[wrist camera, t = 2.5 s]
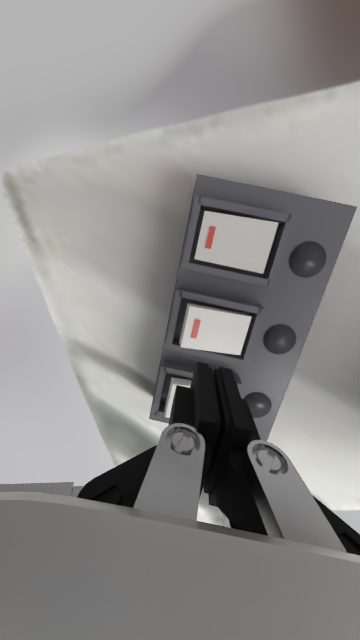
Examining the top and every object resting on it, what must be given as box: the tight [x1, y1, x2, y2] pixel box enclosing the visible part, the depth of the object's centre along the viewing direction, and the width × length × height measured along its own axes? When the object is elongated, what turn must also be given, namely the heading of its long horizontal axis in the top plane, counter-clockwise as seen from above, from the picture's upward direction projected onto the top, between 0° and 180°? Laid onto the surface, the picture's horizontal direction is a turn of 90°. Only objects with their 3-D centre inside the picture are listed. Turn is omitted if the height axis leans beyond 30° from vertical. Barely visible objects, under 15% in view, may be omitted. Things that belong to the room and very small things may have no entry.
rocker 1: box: [165, 378, 192, 418], centre depth 24 cm, size 6×4×1 cm, turn 79°
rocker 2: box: [194, 211, 278, 274], centre depth 19 cm, size 6×4×1 cm, turn 79°
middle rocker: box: [179, 303, 252, 355], centre depth 21 cm, size 6×4×1 cm, turn 79°
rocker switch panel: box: [149, 174, 357, 441], centre depth 24 cm, size 14×26×6 cm, turn 169°
